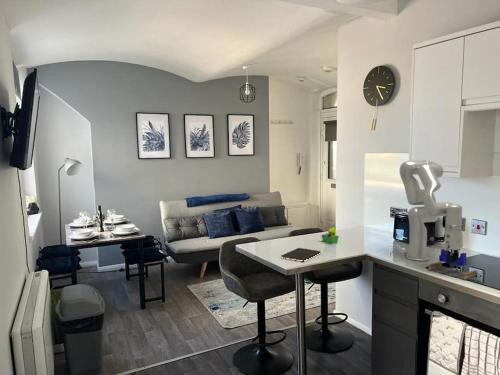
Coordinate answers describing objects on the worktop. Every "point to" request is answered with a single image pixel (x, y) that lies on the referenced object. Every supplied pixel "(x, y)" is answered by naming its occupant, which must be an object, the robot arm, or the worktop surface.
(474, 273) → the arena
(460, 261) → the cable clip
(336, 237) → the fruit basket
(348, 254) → the worktop surface
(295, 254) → the dark spiral notebook
